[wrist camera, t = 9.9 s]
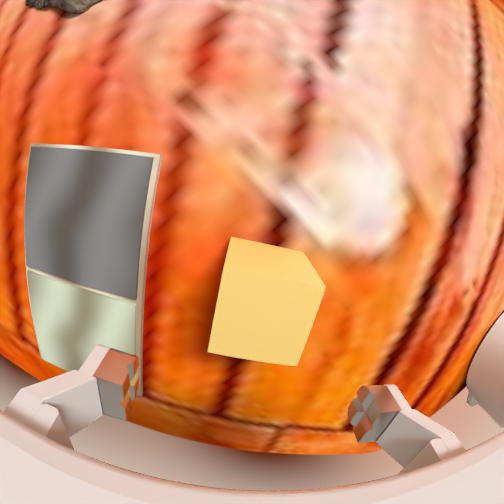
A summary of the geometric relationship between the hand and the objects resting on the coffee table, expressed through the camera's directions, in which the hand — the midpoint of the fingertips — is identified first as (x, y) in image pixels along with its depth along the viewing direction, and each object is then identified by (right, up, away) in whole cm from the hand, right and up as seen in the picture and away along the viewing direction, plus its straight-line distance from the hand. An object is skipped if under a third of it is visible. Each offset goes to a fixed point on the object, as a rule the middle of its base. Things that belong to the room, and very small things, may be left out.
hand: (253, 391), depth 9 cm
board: (-14, +3, +11) cm, 18 cm away
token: (0, +3, +11) cm, 11 cm away
